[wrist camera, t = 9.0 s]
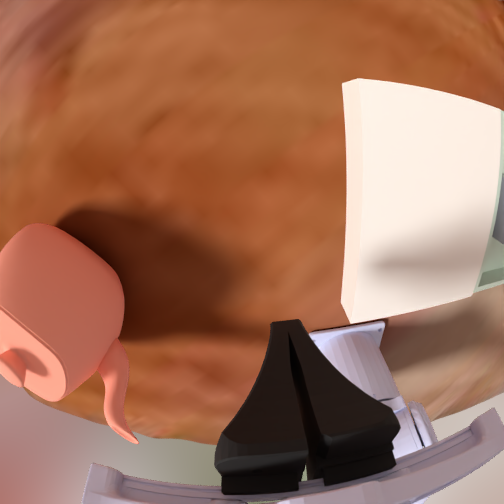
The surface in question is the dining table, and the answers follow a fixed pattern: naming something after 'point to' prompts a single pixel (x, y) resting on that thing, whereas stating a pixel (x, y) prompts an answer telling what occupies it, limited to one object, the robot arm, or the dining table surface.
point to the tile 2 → (500, 216)
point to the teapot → (62, 319)
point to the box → (493, 240)
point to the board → (415, 196)
